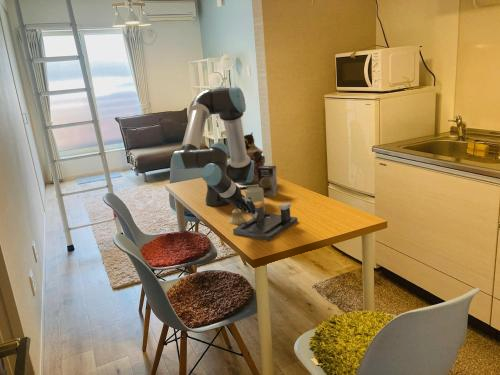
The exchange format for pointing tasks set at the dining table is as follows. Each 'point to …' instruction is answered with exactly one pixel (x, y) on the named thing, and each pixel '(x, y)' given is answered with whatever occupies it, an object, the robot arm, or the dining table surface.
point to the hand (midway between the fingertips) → (255, 215)
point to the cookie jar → (255, 156)
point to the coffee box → (267, 180)
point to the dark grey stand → (267, 224)
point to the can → (255, 194)
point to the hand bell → (237, 217)
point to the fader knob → (259, 210)
